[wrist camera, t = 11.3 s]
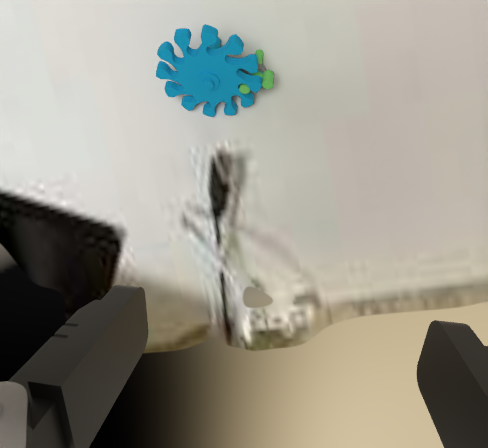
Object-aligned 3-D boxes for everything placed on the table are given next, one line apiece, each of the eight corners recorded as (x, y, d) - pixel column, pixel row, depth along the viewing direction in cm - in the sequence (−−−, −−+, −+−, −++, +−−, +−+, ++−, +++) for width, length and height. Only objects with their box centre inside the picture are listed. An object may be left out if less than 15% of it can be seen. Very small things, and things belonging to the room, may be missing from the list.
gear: (161, 114, 35) (144, 28, 26) (170, 72, 38) (158, -20, 29) (263, 128, 36) (282, 49, 27) (267, 87, 38) (285, 0, 29)
